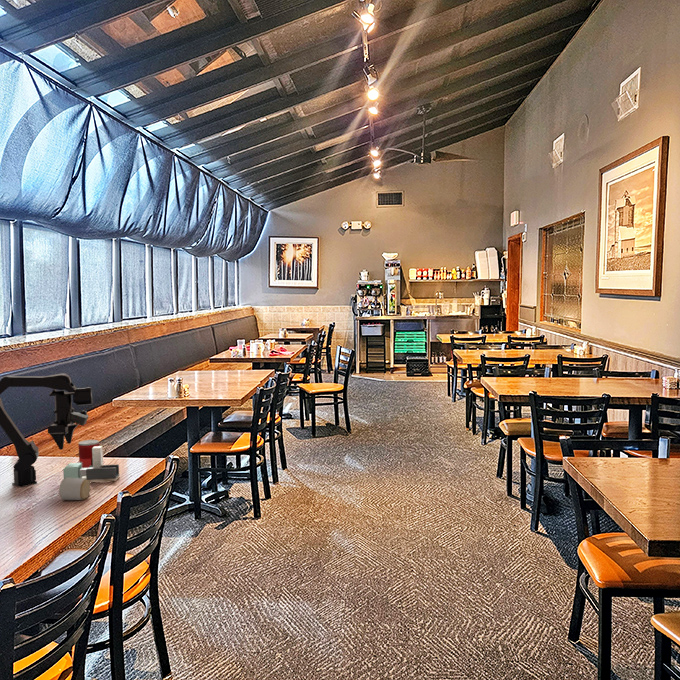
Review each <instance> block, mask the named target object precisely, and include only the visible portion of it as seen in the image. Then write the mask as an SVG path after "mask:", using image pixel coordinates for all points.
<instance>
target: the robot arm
mask: <svg viewBox="0 0 680 680" xmlns="http://www.w3.org/2000/svg"><path fill="white" fill-rule="evenodd" d="M17 387H18V388H22V387H23V388H24V387H25V388H34V387H35V388H41V387H42V388H46V389H47V388H48V389H52V391H51V392H49V394H48V397H54V400H55V401H54V403H55V405H54V406H55V407H54V408H55V409H54V410H53V414H55V420H54V421H53V424H51V425H49V426H48V427H47V434H49V436H51V438H52V439H53V441H54V442H55V444H56V446H57V447H58V449H59V450H60V451H61V450H63V449H64V443H65V440H66V443H67V444H69V445H70V444H71V443H72V439H73V436H74V431H75V429H76V428H77V427H78V426H79V425H80V426H85V425H86V424H87V421H88V420H89V418H90V417H89V414H88V411H87V410H84V409H83V410H81V412H76V411H75V408H74V407H73V405H72V402H73V404H75V405H76V406H78V407H79V406H89V405H90V406H91V405H93V394H92V387H91V386H88V387H82V388H81V387H77V386H76V385H75V384H74V383H73V382H72V378H71V376H70V375H68V374H67V373H63V372H62V373H56V374H50V375H46V376H45V375H44V376H39V375H38V376H33V375H32V376H30V375H29V376H28V375H25V376H24V375H23V376H18V375H13V376H12V375H5V376H3V377H2V378H1V380H0V395H1V394H3V392H5V391H6V390H7V389H8V388H17ZM0 427H1V429H2V430H3V431H4V433H5V435H6V436H7V437H8V439H9V440H10V441H11V443H12V445H13V446H14V448H15V451H16V455H17V457H18V459H17V460H16V461H15V463H14V464H13V467H12V468H13V482H12V484H11V485H13V486H16V487H18V488H23V487H27V486H31V485H34V484H38V481H37V469H35V466H34V464H35V463H36V461H37V459H38V458H39V455H40V452H39V449H40V447H38V446H37V445H36V443H35V441H34V439H33V440H31V441H29V440H27V439H26V438H25V437H24V435H23V433H22V432H21V430H20V429H19V428H18V426H17V425H16V423H15V422H14V421H13V419H12V418H11V416H10V415H9V414H8V412H7V411H6V409H5V407H4V404H3V400H2V398H1V397H0Z"/></svg>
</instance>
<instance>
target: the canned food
mask: <svg viewBox="0 0 680 680" xmlns="http://www.w3.org/2000/svg"><path fill="white" fill-rule="evenodd" d="M94 446H100V441H99V439H98V440H97V439H85V440H81V441H79V442H78V463H82V468H89V466H93V458H92V448H93V447H94Z"/></svg>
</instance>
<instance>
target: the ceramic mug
mask: <svg viewBox="0 0 680 680" xmlns="http://www.w3.org/2000/svg"><path fill="white" fill-rule="evenodd" d="M90 491H91V483H90V482H89V481H88V480H86V479H81V478H69V477H66V478H64V477H63V479H62V480H61V482H60V484H59V488H58V495H59V498H60V500H61V501H83V500H86V499H87V498H88V497H89V495H90Z"/></svg>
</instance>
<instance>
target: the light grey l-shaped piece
mask: <svg viewBox="0 0 680 680" xmlns="http://www.w3.org/2000/svg"><path fill="white" fill-rule="evenodd" d="M92 458H93V467H89V468H78V477H82V476H86V469H94V468H103V465H104V450H103V445H99V446H94V447H93V448H92Z"/></svg>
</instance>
